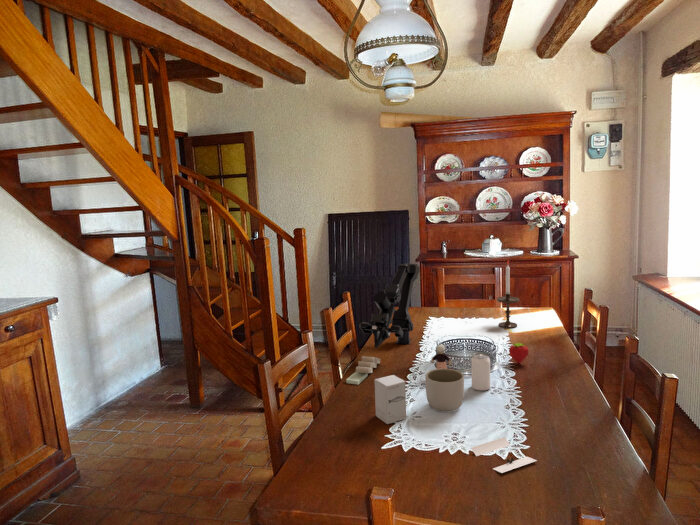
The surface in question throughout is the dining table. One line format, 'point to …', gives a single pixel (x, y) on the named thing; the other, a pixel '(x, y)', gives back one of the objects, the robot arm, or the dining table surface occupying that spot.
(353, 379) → the sage end domino
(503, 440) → the pale pink flat slab
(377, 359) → the domino
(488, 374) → the can
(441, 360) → the grandmother figurine
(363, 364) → the domino
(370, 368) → the domino
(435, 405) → the planter
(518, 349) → the strawberry
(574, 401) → the dining table surface
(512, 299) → the candlestick
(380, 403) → the supplement box
